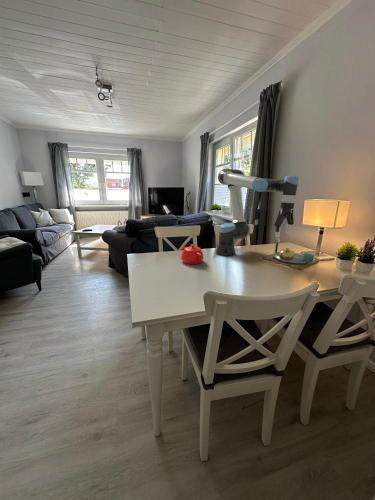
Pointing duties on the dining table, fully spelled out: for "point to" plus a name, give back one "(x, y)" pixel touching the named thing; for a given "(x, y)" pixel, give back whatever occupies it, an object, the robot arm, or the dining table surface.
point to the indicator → (276, 244)
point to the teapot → (192, 254)
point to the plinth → (296, 266)
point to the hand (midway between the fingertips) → (282, 235)
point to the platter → (296, 258)
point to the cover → (286, 254)
